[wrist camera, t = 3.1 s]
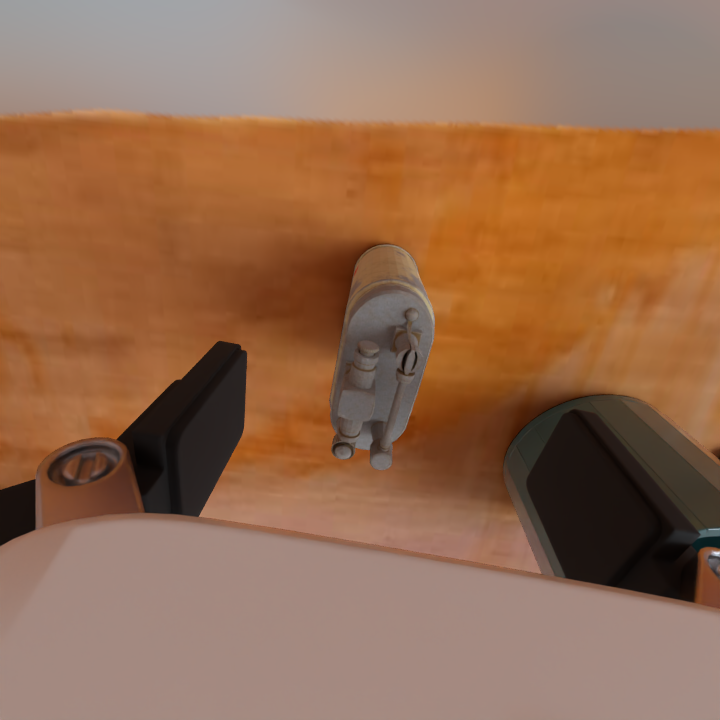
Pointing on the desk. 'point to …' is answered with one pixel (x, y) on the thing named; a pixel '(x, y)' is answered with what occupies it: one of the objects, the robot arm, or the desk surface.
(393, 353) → the lighter
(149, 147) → the desk surface
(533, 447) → the pen cup
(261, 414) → the desk surface
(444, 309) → the desk surface
